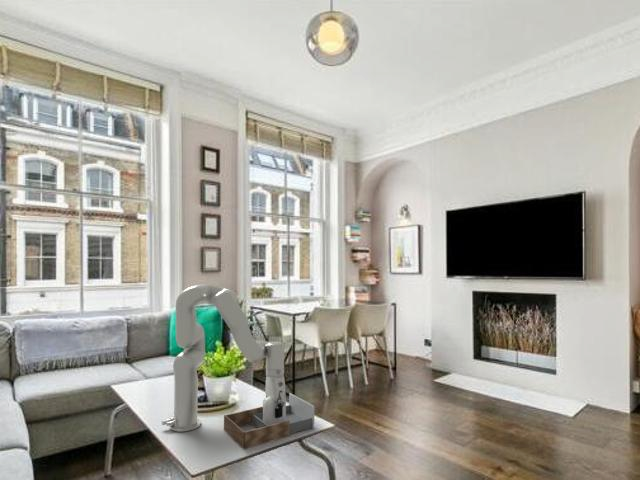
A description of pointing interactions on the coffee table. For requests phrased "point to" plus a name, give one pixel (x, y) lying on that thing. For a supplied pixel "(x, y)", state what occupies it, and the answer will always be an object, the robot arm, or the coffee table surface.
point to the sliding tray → (292, 415)
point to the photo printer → (272, 412)
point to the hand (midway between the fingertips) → (274, 414)
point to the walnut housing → (256, 435)
